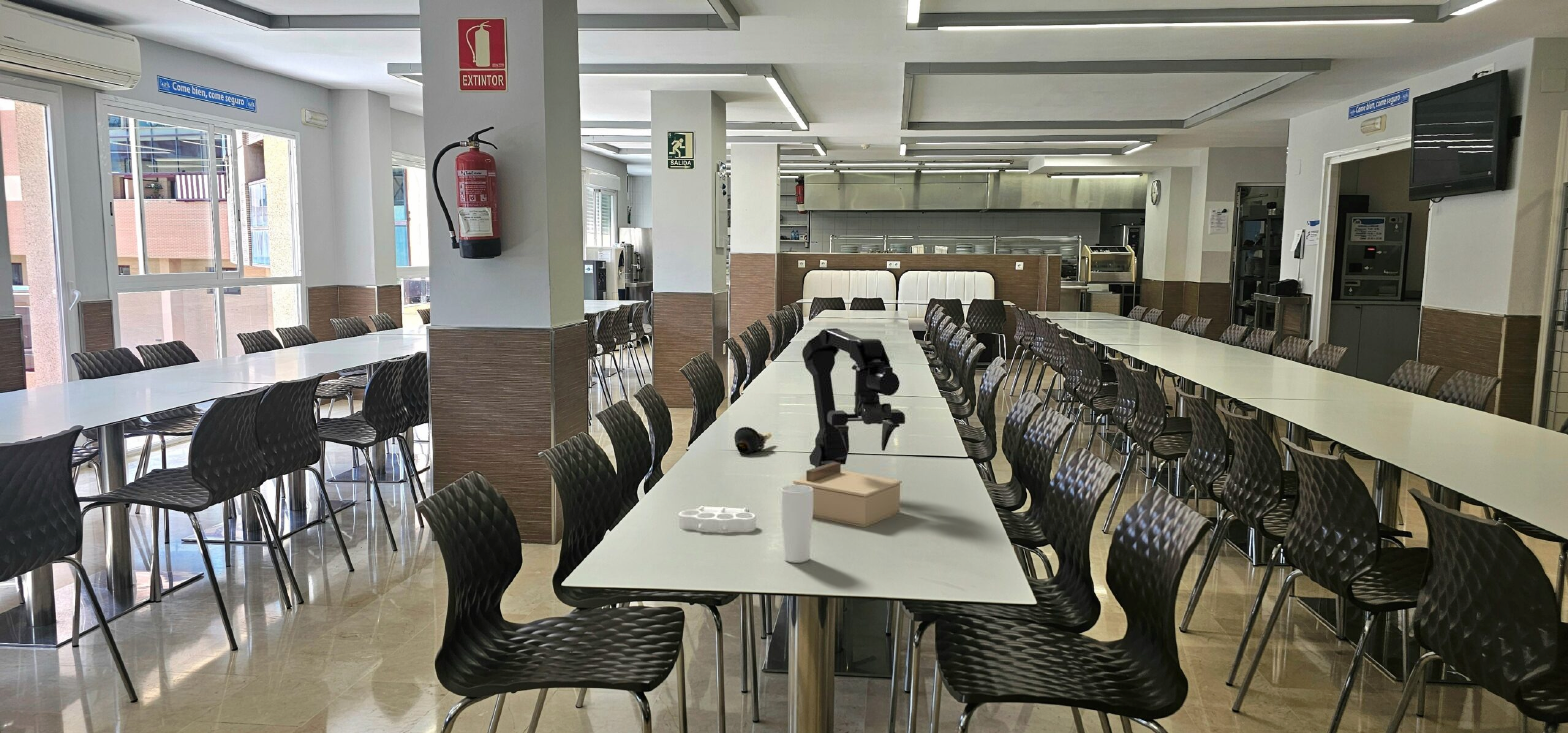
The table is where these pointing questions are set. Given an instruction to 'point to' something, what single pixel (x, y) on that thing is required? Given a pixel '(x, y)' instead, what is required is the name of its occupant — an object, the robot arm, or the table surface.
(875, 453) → the table surface
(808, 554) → the drinking glass
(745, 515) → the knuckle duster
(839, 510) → the mailer box
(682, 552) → the table surface
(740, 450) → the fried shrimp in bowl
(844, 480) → the mailer lid
